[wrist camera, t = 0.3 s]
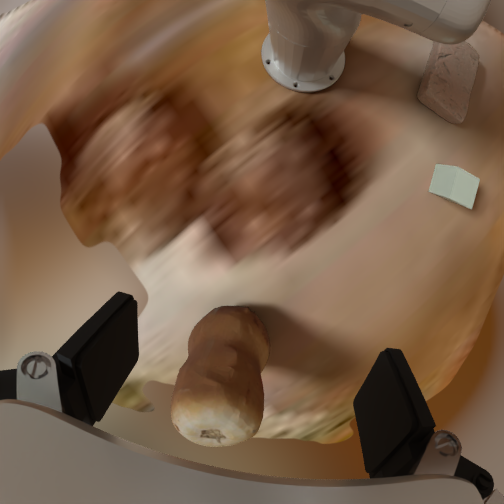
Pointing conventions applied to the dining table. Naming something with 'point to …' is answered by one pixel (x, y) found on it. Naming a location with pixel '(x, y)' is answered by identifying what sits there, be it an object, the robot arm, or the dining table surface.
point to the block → (454, 185)
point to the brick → (449, 80)
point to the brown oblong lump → (222, 379)
